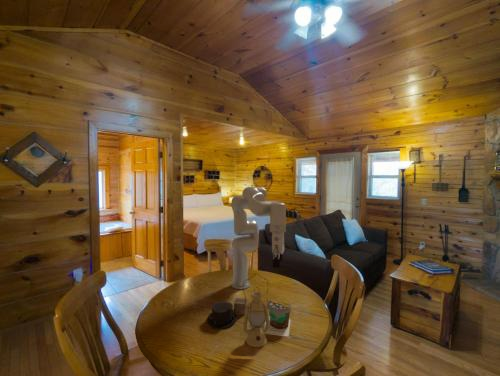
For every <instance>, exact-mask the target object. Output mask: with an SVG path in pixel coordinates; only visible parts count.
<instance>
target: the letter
mask: <svg viewBox="0 0 500 376" xmlns="http://www.w3.org/2000/svg"><path fill="white" fill-rule="evenodd" d="M269 322H270V317H269ZM291 323H292V322H291V318H289V324H288V327H287V328H284V329H277V328H274V327H272V326H271V325H270V328H269V329H268V331H267V332H265V335H272V336H278V337H279V336H280V337H284V338H289V336H290V327H291ZM264 328H266V321H265V322H264V324H263V327H262V329H264Z"/></svg>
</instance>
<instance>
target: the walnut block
mask: <svg viewBox="0 0 500 376" xmlns="http://www.w3.org/2000/svg"><path fill="white" fill-rule="evenodd" d="M247 302H248V301H247V297H246V301H245V297H235V299H234V302H233V313H235V314H236V315H240V316H245V311H246V307H247V305H248V303H247Z"/></svg>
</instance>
